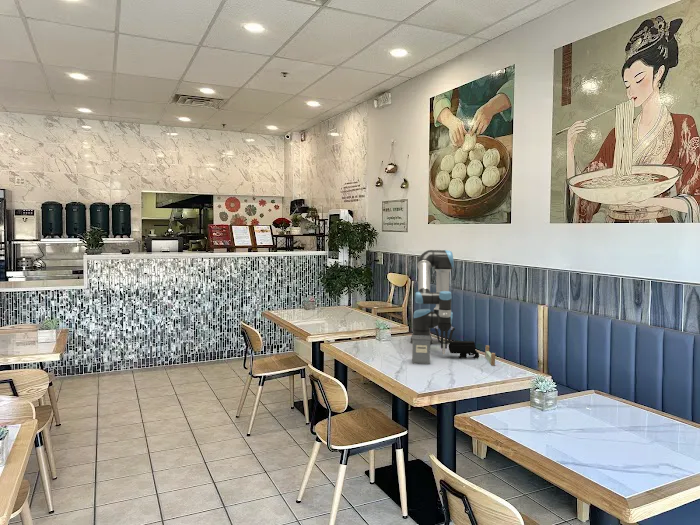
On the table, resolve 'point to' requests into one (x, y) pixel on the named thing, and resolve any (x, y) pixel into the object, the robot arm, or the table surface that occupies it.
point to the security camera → (463, 348)
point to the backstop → (490, 356)
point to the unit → (421, 349)
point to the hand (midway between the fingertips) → (443, 353)
